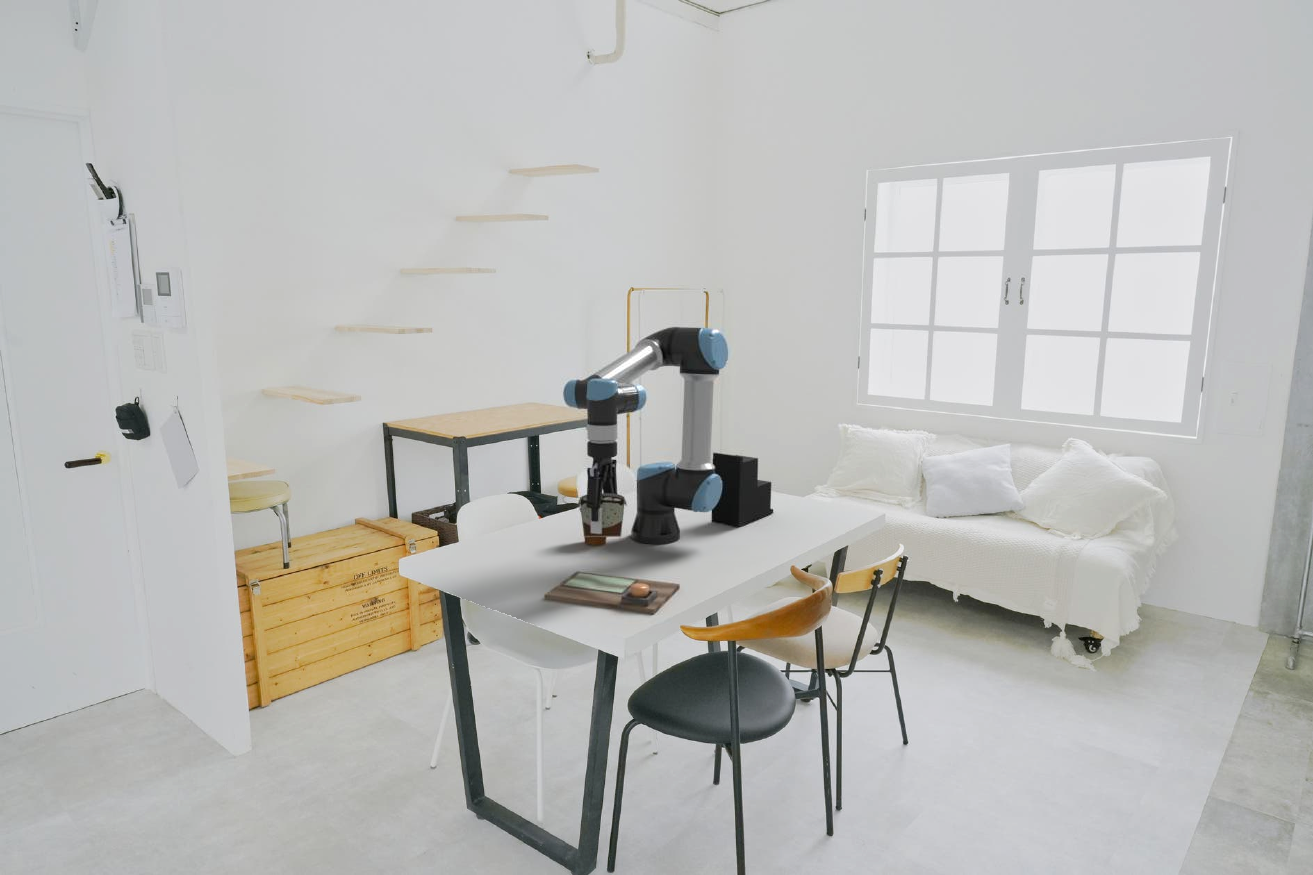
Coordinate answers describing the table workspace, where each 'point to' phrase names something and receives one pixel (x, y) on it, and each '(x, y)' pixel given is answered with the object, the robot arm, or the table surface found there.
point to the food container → (604, 515)
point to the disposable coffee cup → (594, 540)
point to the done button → (639, 590)
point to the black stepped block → (740, 491)
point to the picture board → (612, 592)
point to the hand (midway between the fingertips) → (602, 529)
